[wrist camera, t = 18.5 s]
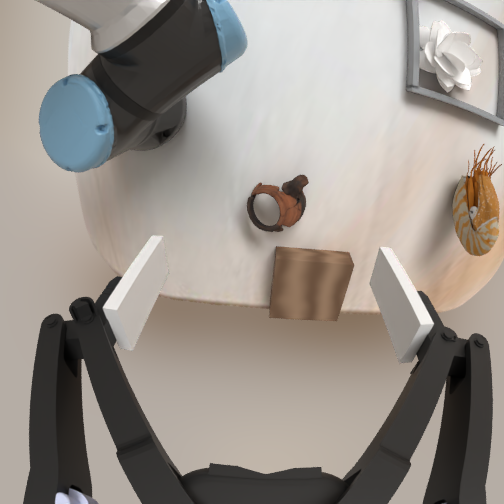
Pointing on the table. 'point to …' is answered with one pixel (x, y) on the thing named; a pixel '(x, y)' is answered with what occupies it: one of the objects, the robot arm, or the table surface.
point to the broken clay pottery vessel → (282, 203)
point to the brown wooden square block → (309, 283)
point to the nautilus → (476, 210)
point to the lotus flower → (448, 56)
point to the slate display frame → (414, 59)
